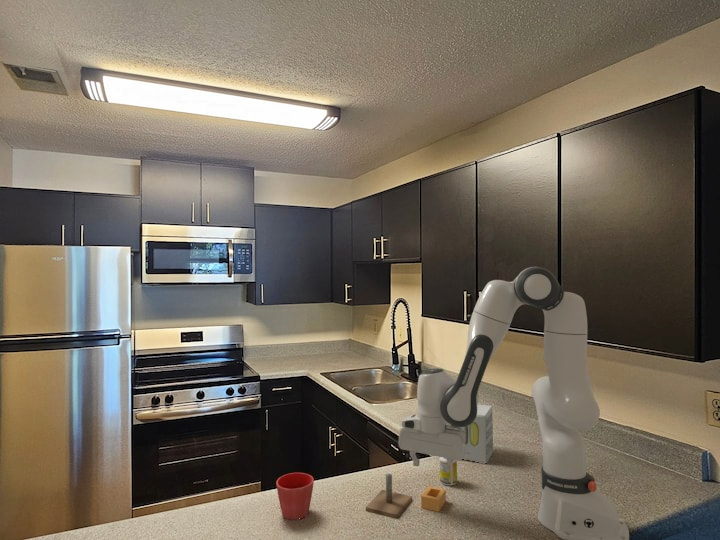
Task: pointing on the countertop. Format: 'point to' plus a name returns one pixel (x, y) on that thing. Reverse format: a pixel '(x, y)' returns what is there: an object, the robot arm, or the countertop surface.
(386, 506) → the peg mounting plate
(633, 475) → the countertop surface
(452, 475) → the supplement bottle
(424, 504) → the orange hollow square block
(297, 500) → the flower pot
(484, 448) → the supplement box
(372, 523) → the countertop surface
